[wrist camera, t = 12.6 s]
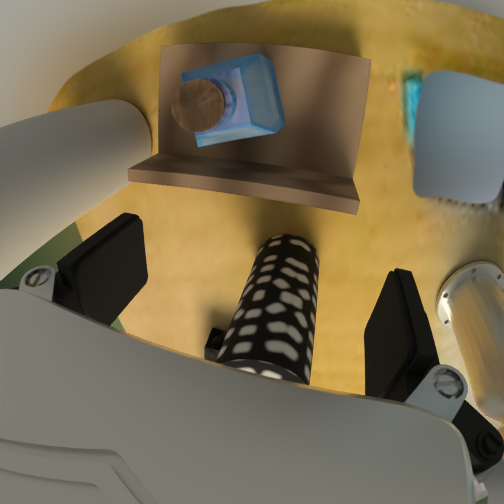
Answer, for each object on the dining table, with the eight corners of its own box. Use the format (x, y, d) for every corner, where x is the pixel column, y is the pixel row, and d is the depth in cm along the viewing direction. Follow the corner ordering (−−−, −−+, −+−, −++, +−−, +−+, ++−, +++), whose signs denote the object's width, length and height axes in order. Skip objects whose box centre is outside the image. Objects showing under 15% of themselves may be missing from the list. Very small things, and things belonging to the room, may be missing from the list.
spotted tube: (247, 243, 40) (192, 362, 23) (308, 226, 37) (291, 353, 20) (270, 292, 43) (235, 414, 26) (326, 280, 40) (318, 410, 23)
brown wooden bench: (362, 64, 25) (385, 51, 16) (345, 175, 32) (356, 215, 22) (184, 50, 28) (127, 41, 18) (180, 152, 35) (128, 181, 25)
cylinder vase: (142, 85, 31) (-41, 127, 10) (164, 176, 37) (17, 290, 16) (76, 114, 35) (-72, 174, 14) (97, 191, 41) (-30, 285, 20)
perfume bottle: (208, 75, 24) (139, 73, 14) (272, 61, 23) (238, 40, 13) (222, 134, 27) (163, 166, 17) (285, 124, 26) (261, 147, 16)
